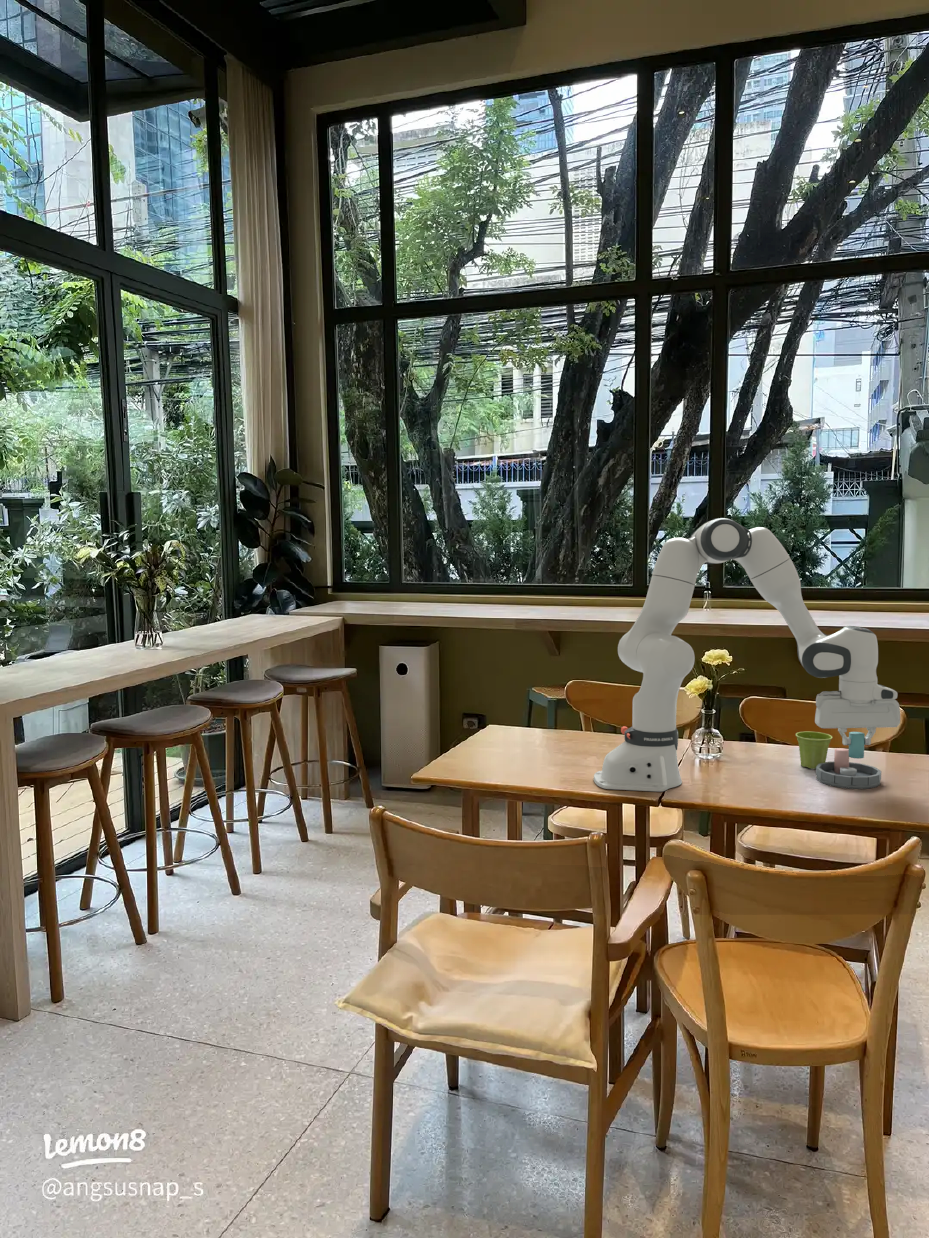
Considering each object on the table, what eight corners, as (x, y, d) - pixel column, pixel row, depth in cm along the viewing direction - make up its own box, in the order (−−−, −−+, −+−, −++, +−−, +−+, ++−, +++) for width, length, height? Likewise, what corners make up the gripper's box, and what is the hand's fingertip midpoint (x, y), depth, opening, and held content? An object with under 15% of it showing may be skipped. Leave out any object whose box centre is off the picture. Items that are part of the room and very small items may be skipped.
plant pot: (826, 762, 253) (827, 731, 252) (835, 771, 244) (836, 739, 243) (791, 761, 255) (792, 731, 254) (799, 770, 245) (799, 738, 244)
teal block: (851, 758, 228) (852, 735, 228) (846, 754, 232) (846, 731, 231) (866, 758, 228) (867, 734, 228) (860, 754, 232) (861, 731, 231)
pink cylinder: (837, 774, 238) (837, 751, 237) (831, 770, 241) (832, 748, 241) (851, 773, 238) (851, 751, 237) (845, 770, 241) (846, 748, 241)
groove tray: (829, 789, 228) (829, 777, 228) (807, 772, 243) (808, 761, 243) (890, 788, 227) (891, 777, 227) (865, 772, 243) (865, 761, 242)
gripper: (820, 693, 226) (819, 748, 227) (904, 692, 225) (902, 747, 227) (811, 689, 232) (810, 742, 233) (892, 687, 231) (891, 741, 233)
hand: (856, 744), depth 230 cm, fingers closed on teal block, 4 cm apart
